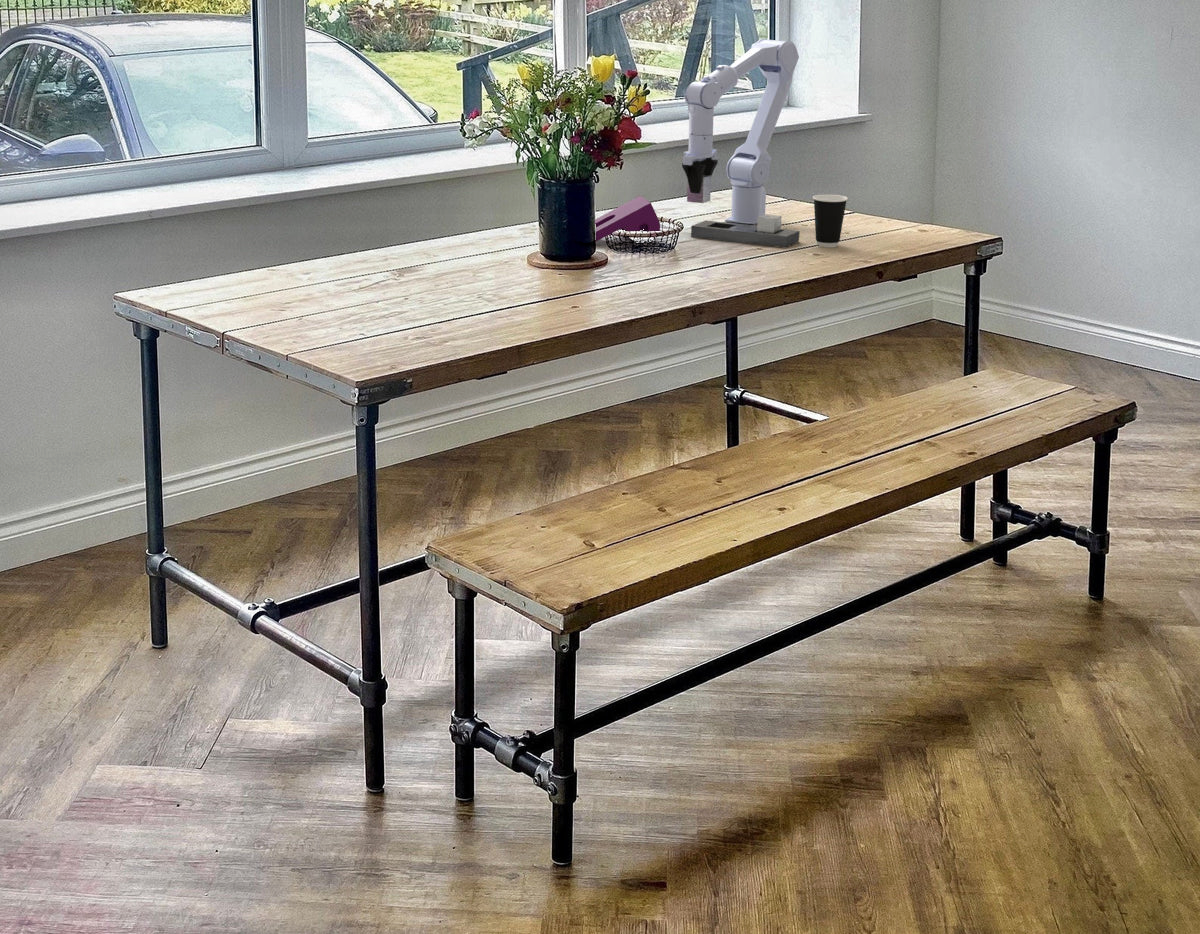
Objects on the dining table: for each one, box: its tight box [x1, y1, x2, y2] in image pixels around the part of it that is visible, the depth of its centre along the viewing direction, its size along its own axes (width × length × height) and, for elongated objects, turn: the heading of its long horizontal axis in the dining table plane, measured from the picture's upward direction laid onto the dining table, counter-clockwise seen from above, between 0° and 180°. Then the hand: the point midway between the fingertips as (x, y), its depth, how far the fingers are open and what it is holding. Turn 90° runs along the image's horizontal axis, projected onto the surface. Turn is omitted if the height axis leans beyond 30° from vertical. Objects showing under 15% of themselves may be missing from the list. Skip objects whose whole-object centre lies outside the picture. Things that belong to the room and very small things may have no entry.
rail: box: [690, 219, 800, 248], centre depth 336 cm, size 8×24×3 cm, turn 61°
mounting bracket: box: [594, 195, 661, 242], centre depth 333 cm, size 9×8×18 cm
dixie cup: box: [812, 194, 849, 248], centre depth 329 cm, size 8×8×11 cm
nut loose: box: [686, 175, 712, 204], centre depth 344 cm, size 4×4×6 cm
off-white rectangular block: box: [756, 213, 782, 234], centre depth 332 cm, size 4×4×6 cm
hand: (699, 191), depth 345 cm, fingers closed on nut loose, 4 cm apart
